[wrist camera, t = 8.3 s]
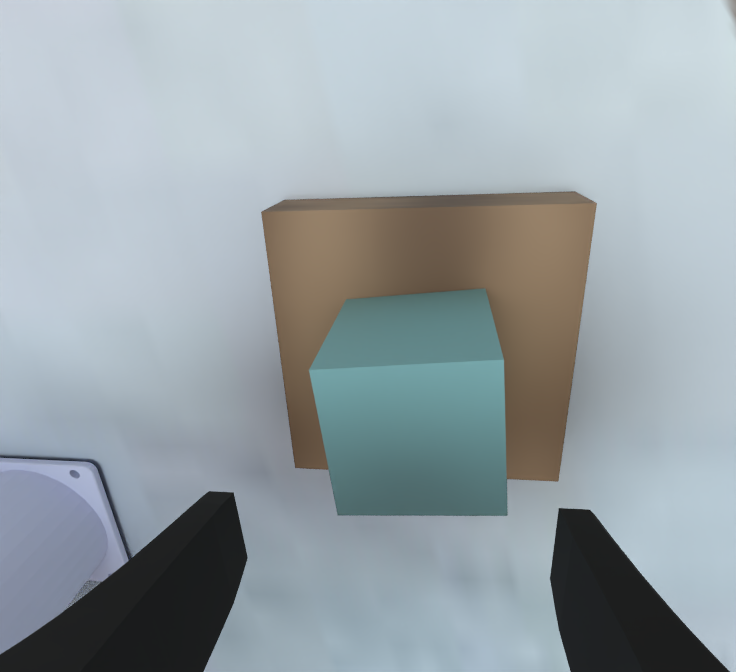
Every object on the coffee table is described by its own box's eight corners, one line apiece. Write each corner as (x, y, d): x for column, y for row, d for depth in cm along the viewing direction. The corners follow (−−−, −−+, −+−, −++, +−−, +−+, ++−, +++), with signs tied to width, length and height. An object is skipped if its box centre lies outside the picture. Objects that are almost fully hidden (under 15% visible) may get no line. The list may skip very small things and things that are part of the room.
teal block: (364, 414, 18) (337, 515, 13) (345, 299, 16) (309, 369, 12) (490, 410, 17) (507, 515, 13) (485, 288, 15) (504, 359, 11)
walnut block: (313, 425, 22) (295, 467, 19) (288, 197, 18) (261, 211, 15) (542, 433, 21) (558, 481, 18) (571, 189, 17) (596, 203, 14)
